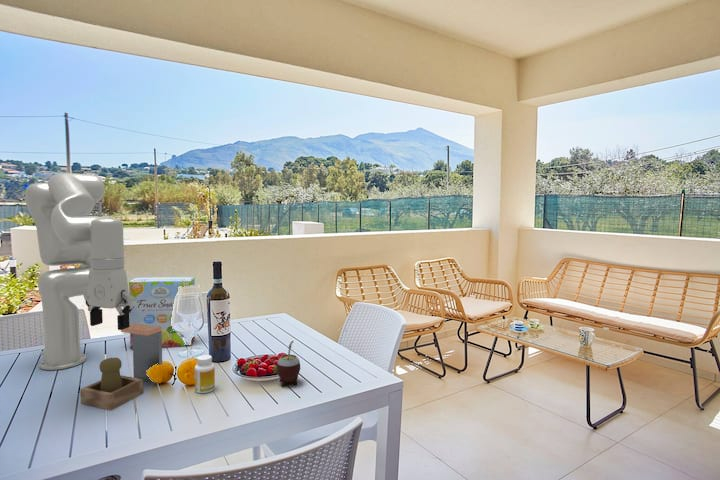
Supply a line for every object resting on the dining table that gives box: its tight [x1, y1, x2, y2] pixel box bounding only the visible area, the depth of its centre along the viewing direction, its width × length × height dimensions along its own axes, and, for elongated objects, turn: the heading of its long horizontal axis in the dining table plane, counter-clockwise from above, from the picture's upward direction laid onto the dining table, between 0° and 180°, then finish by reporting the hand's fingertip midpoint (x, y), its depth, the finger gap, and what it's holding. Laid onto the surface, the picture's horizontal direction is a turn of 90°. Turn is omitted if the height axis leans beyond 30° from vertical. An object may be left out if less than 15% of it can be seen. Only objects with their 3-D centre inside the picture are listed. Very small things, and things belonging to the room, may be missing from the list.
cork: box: [99, 357, 123, 393], centre depth 111 cm, size 6×6×11 cm
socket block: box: [79, 374, 144, 411], centre depth 111 cm, size 10×10×4 cm
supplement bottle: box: [194, 354, 216, 394], centre depth 117 cm, size 5×5×10 cm
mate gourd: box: [276, 340, 301, 388], centre depth 121 cm, size 8×8×15 cm
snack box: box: [128, 276, 196, 350], centre depth 153 cm, size 22×9×26 cm, turn 104°
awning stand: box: [120, 323, 163, 384], centre depth 120 cm, size 10×5×17 cm, turn 72°
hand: (110, 326), depth 109 cm, fingers open, 9 cm apart
